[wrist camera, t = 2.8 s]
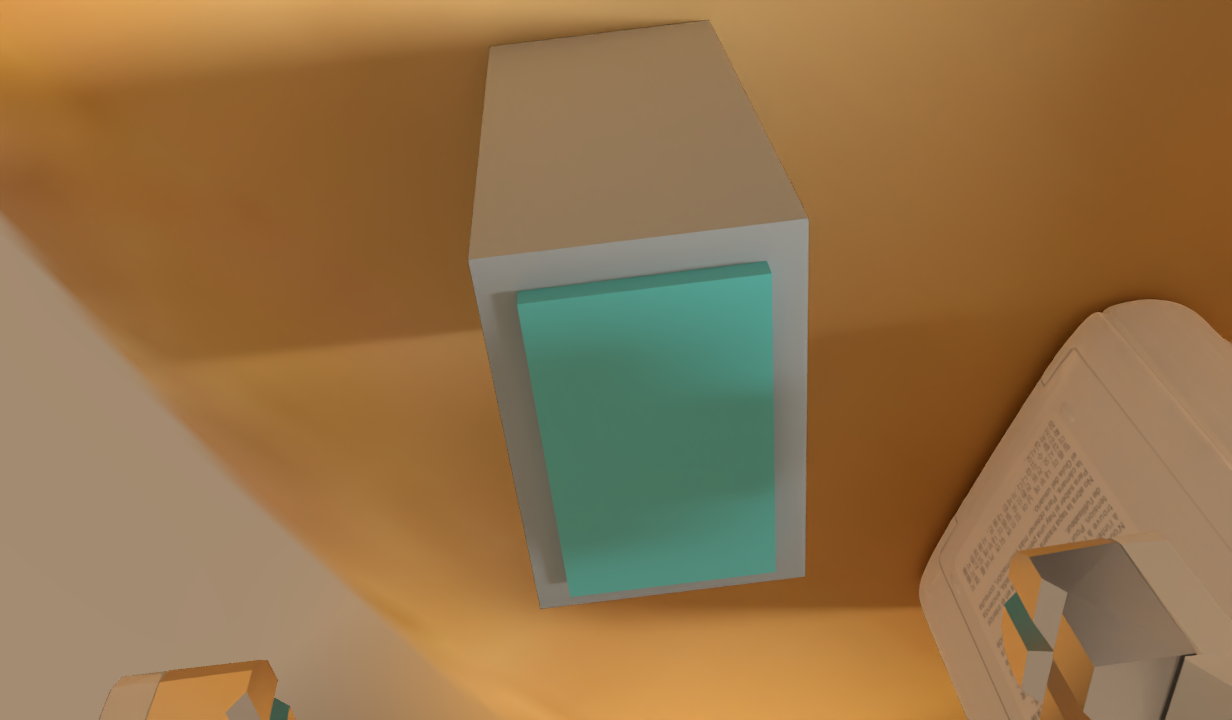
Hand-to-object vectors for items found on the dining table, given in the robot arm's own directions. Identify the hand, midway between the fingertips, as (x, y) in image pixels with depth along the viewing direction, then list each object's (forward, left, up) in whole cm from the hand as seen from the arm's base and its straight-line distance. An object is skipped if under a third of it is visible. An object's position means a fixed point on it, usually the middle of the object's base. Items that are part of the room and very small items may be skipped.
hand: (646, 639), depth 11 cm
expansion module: (0, 0, -11) cm, 11 cm away
